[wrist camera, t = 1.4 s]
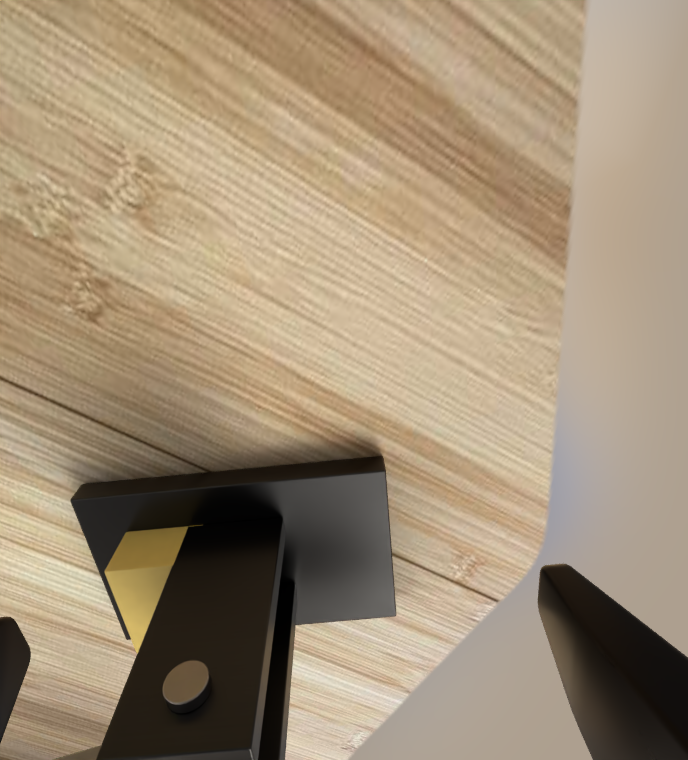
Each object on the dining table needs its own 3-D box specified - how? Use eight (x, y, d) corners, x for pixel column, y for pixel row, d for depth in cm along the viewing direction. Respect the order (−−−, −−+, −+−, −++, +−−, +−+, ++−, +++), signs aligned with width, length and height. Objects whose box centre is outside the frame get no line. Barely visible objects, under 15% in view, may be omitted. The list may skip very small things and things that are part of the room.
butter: (125, 531, 22) (103, 571, 20) (203, 524, 22) (190, 563, 20) (153, 609, 24) (136, 653, 22) (225, 603, 24) (214, 646, 22)
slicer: (134, 620, 26) (17, 894, 17) (81, 483, 23) (-110, 732, 13) (393, 597, 26) (431, 863, 16) (383, 455, 22) (423, 687, 13)
